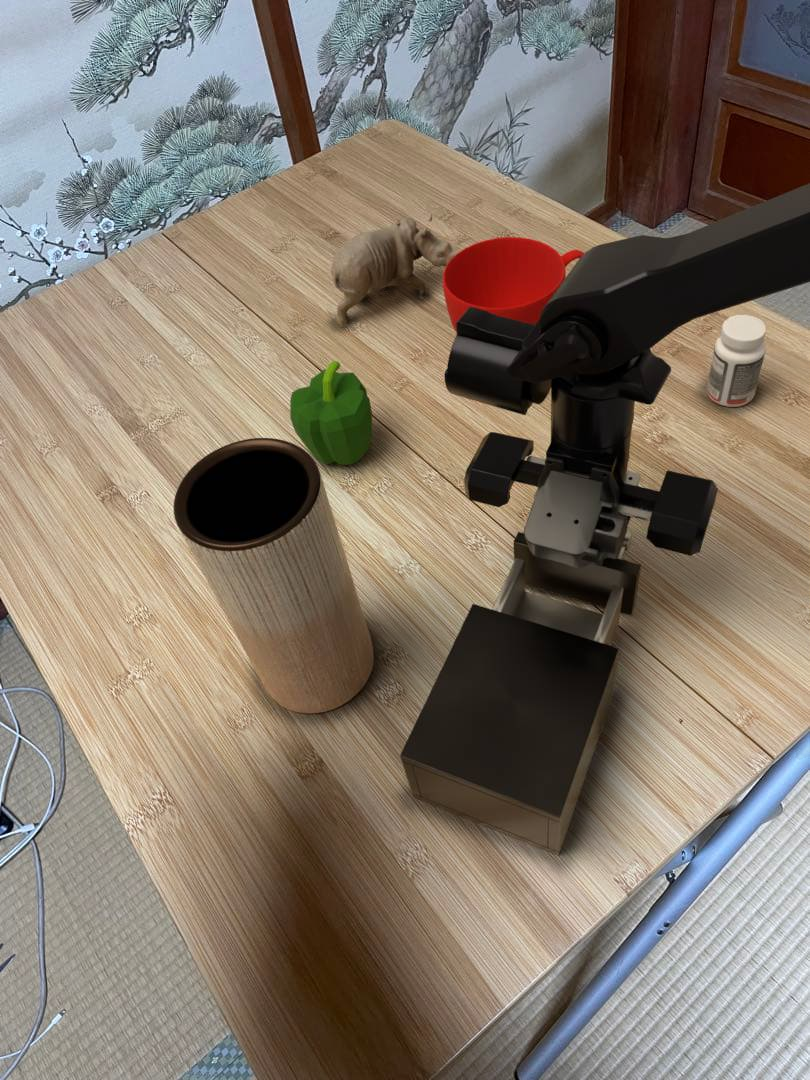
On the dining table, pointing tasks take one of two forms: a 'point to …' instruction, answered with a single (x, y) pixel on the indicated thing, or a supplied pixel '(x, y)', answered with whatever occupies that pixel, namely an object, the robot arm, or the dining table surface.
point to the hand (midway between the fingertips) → (582, 554)
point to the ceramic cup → (504, 278)
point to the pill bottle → (737, 361)
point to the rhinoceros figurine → (384, 262)
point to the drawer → (570, 592)
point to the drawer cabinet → (512, 726)
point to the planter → (278, 570)
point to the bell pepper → (333, 416)
